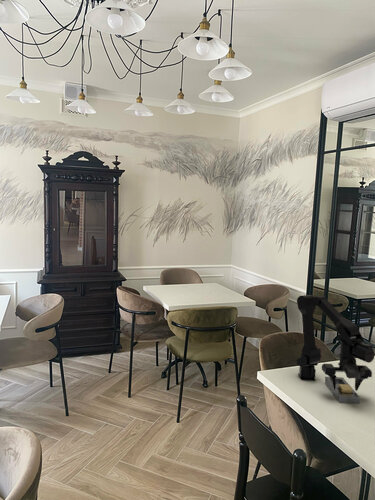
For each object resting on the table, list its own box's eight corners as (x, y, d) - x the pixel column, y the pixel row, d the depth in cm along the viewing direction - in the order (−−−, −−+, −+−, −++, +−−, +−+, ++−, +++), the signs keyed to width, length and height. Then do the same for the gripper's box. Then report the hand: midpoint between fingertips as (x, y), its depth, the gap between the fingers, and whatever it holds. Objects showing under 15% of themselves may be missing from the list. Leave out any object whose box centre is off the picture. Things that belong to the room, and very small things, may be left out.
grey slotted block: (338, 402, 145) (339, 395, 145) (324, 382, 163) (325, 376, 163) (358, 403, 145) (359, 396, 145) (342, 383, 163) (342, 377, 163)
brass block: (341, 400, 148) (342, 388, 147) (338, 395, 152) (338, 384, 151) (351, 400, 148) (352, 389, 147) (347, 396, 152) (348, 384, 151)
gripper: (331, 360, 141) (328, 398, 142) (379, 362, 140) (376, 400, 141) (322, 350, 152) (320, 385, 153) (367, 352, 151) (364, 387, 152)
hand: (345, 389), depth 149 cm, fingers open, 9 cm apart
